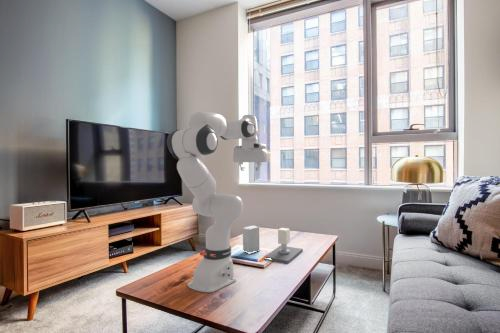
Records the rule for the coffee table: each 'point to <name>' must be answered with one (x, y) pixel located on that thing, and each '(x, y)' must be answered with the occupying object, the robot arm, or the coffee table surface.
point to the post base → (284, 254)
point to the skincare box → (251, 238)
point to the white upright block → (283, 236)
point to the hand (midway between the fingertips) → (250, 170)
